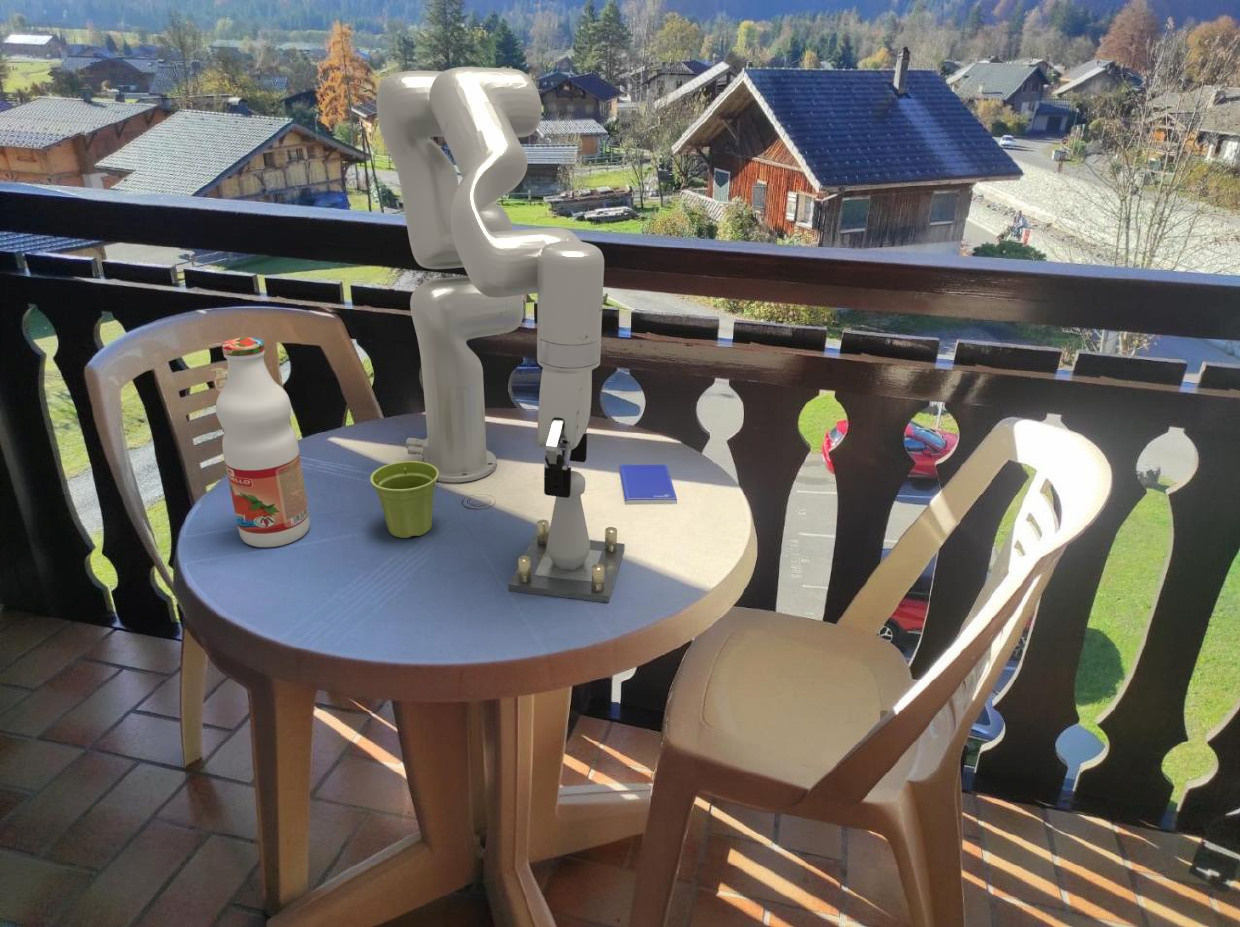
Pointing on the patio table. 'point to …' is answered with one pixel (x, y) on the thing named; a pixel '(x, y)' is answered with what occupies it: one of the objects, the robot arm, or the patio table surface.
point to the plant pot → (406, 496)
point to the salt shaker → (569, 528)
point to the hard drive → (647, 484)
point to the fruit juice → (260, 450)
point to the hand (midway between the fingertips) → (566, 477)
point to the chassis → (577, 584)
